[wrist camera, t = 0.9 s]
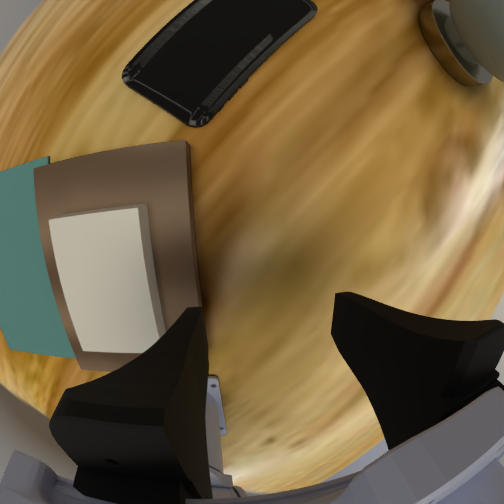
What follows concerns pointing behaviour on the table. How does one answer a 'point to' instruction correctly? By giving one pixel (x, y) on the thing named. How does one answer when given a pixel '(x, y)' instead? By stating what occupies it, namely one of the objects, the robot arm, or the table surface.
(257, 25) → the phone
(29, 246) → the mat
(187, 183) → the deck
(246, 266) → the table surface
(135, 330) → the white rectangular block
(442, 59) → the lamp
